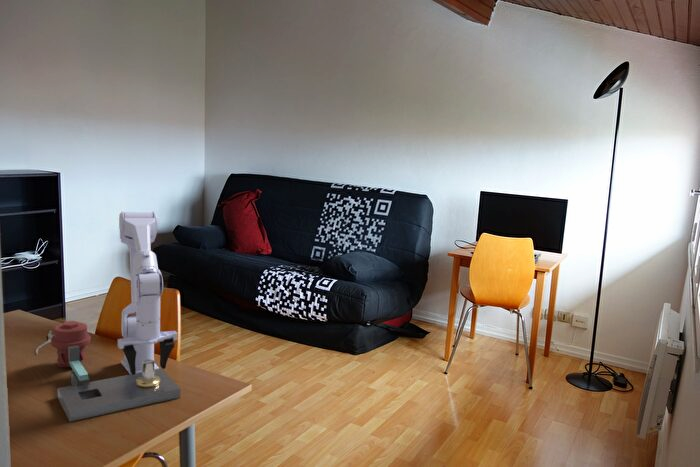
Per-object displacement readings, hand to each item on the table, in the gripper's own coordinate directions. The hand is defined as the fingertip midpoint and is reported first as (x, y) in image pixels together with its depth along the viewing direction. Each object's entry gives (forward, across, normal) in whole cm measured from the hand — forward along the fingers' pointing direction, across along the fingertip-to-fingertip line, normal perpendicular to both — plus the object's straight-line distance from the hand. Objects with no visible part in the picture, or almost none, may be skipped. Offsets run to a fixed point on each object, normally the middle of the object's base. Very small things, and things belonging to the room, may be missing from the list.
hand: (148, 370), depth 152 cm
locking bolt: (+2, -14, +12) cm, 19 cm away
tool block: (+6, -7, +3) cm, 10 cm away
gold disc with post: (+6, 0, 0) cm, 6 cm away
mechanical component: (+6, -13, +26) cm, 30 cm away
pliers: (+6, -15, +46) cm, 49 cm away
